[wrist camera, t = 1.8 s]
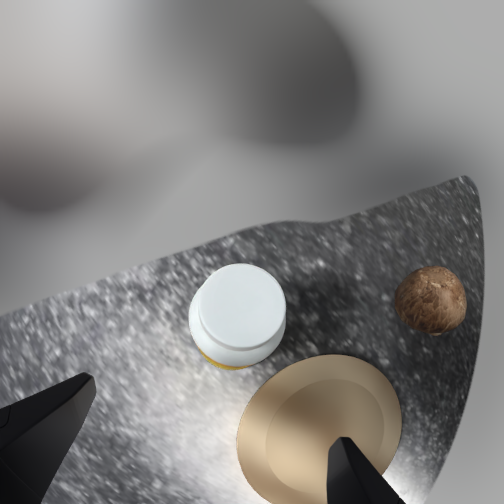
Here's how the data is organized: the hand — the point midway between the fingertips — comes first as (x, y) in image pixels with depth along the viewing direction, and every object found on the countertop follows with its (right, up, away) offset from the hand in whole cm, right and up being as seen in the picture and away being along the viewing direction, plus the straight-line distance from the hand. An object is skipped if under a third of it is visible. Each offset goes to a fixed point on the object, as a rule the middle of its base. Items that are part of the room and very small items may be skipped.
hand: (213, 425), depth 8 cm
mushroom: (+18, 0, +16) cm, 24 cm away
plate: (+7, -9, +10) cm, 15 cm away
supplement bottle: (0, -1, +13) cm, 13 cm away
